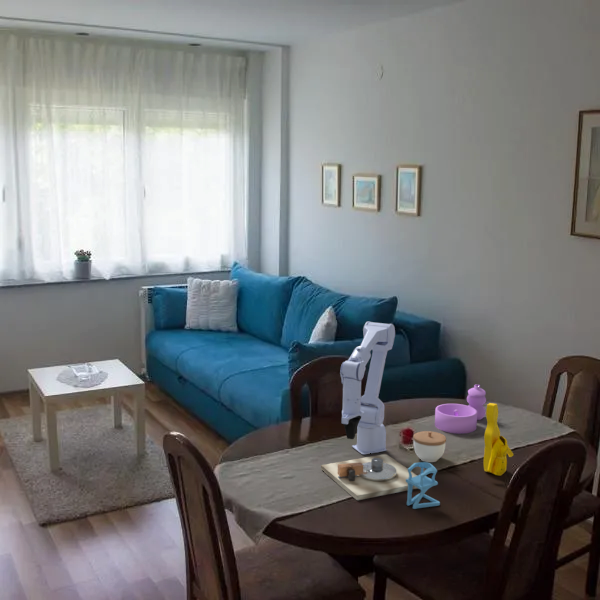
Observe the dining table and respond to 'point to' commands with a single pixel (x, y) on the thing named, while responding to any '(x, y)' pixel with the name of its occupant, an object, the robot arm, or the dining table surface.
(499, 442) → the figure statuette
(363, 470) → the grey and orange-brown pieces
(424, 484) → the blue abstract sculpture
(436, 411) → the container set
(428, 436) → the lidded jar
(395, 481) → the base board
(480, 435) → the dining table surface
